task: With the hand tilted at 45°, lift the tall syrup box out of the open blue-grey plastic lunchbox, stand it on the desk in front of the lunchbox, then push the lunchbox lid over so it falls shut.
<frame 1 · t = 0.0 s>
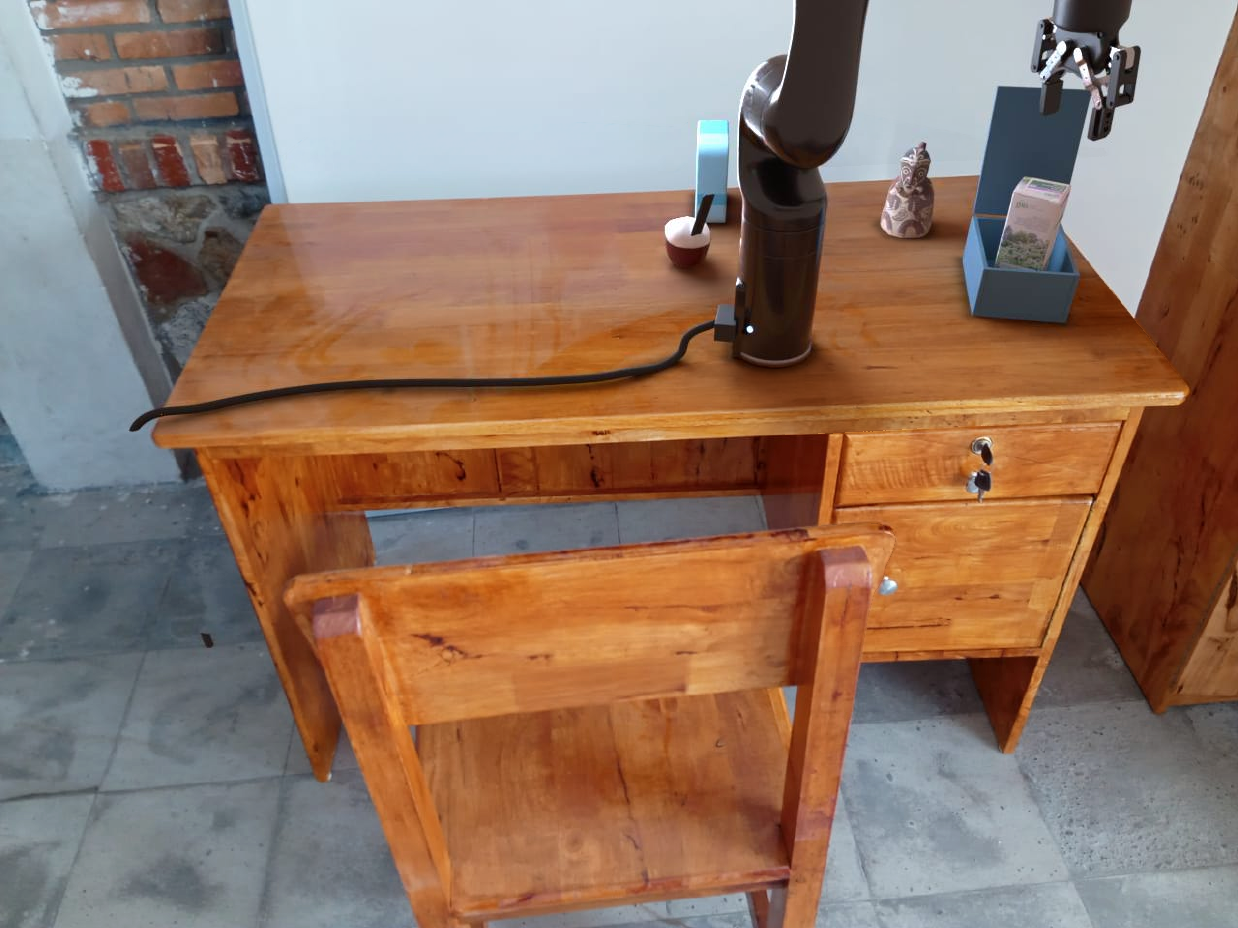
hand: (1072, 126, 110), 22 cm above the table, tool pointing down, fingers open, 8 cm apart
lunchbox lid: (1030, 154, 123), point 15 cm above the table, hinge at 100.0°
figurine: (904, 228, 141), on the table
ice cream cup: (687, 264, 133), on the table
syrup box: (1013, 295, 124), resting on lunchbox
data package: (710, 210, 147), on the table
lunchbox: (1011, 290, 126), on the table
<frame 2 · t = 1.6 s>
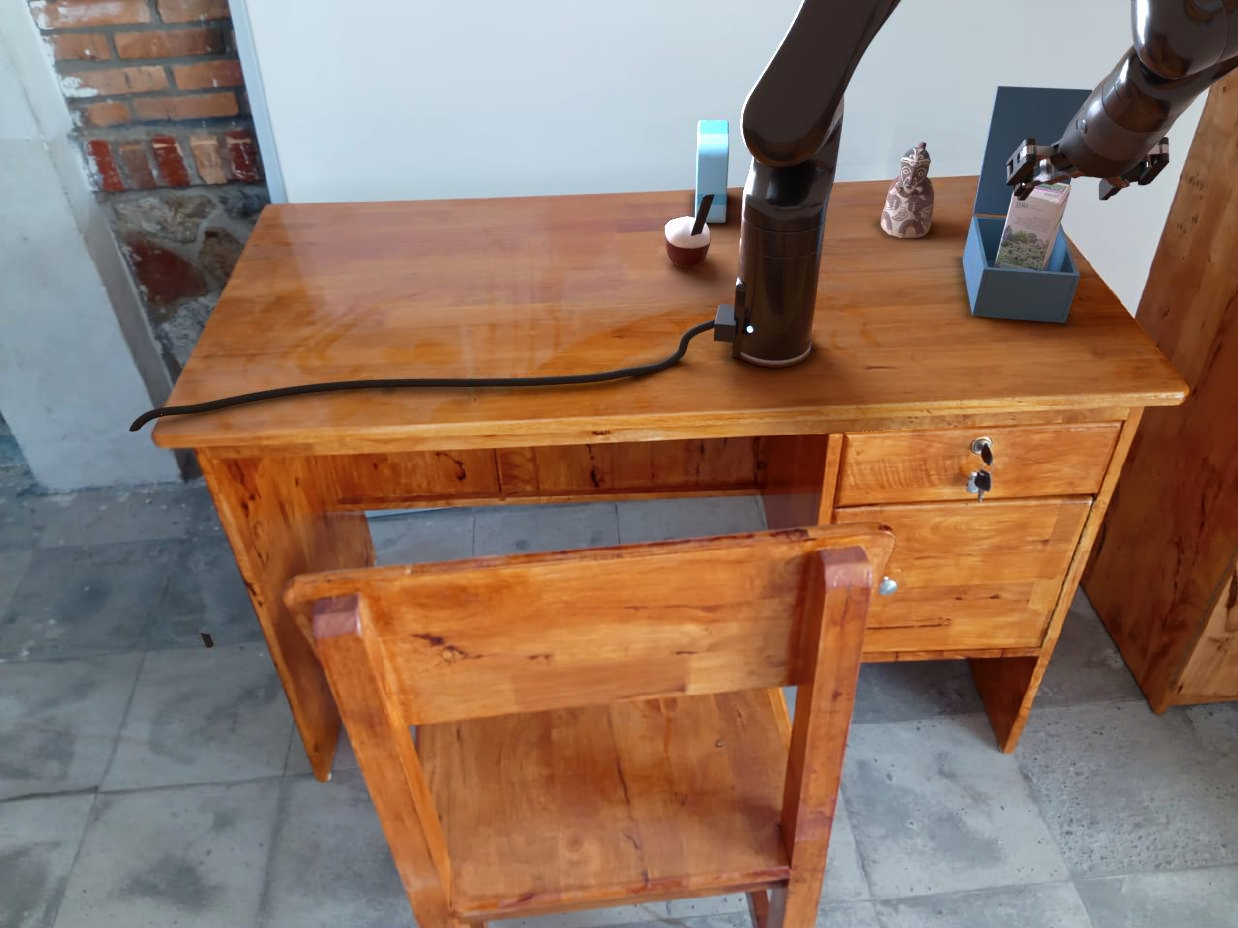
hand: (1060, 192, 104), 19 cm above the table, tool tilted 45°, fingers open, 8 cm apart
nothing on the table moved.
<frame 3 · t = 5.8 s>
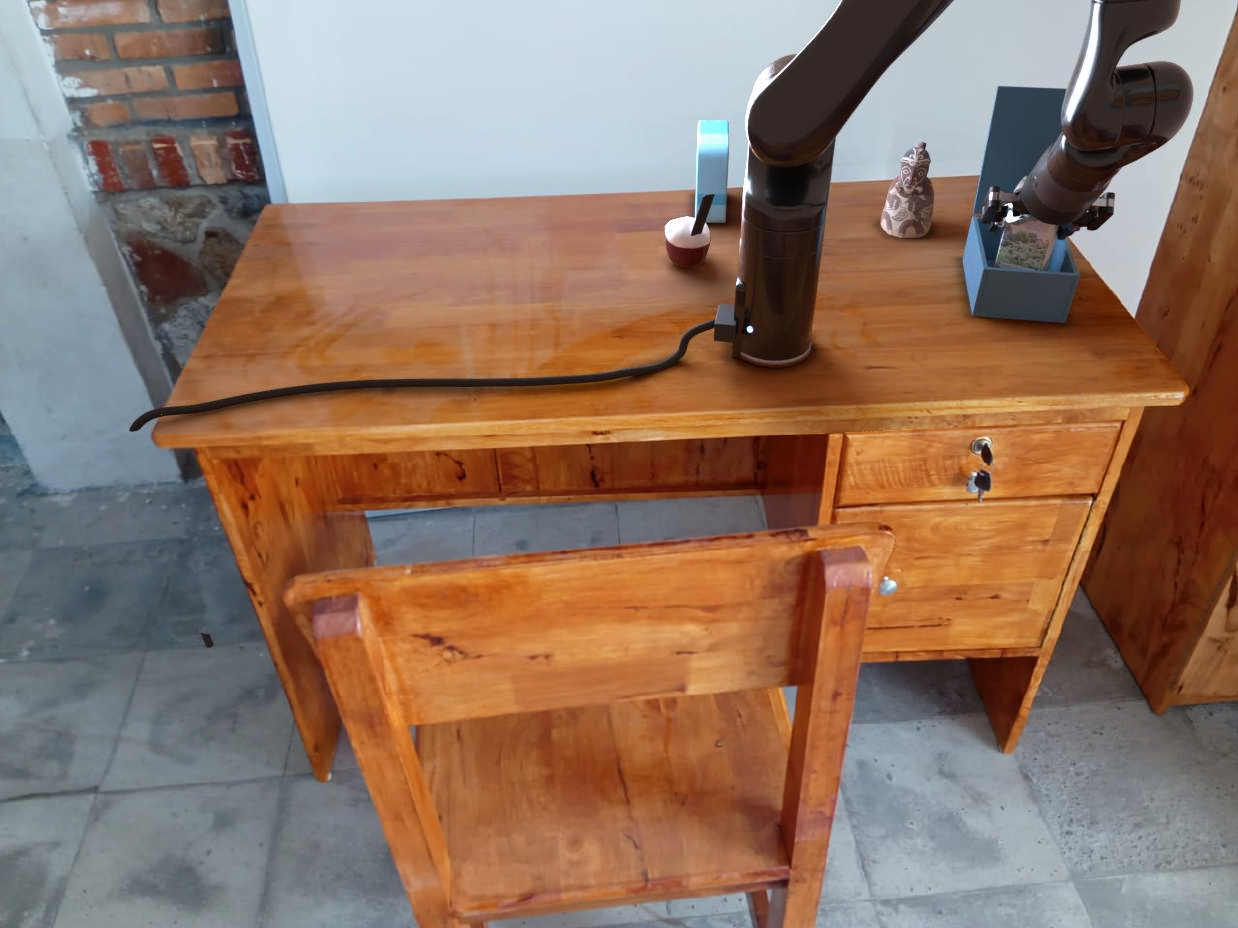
hand: (1028, 230, 120), 9 cm above the table, tool tilted 45°, fingers closed on syrup box, 7 cm apart
syrup box: (1013, 294, 124), resting on lunchbox, touching gripper
everything else where it was.
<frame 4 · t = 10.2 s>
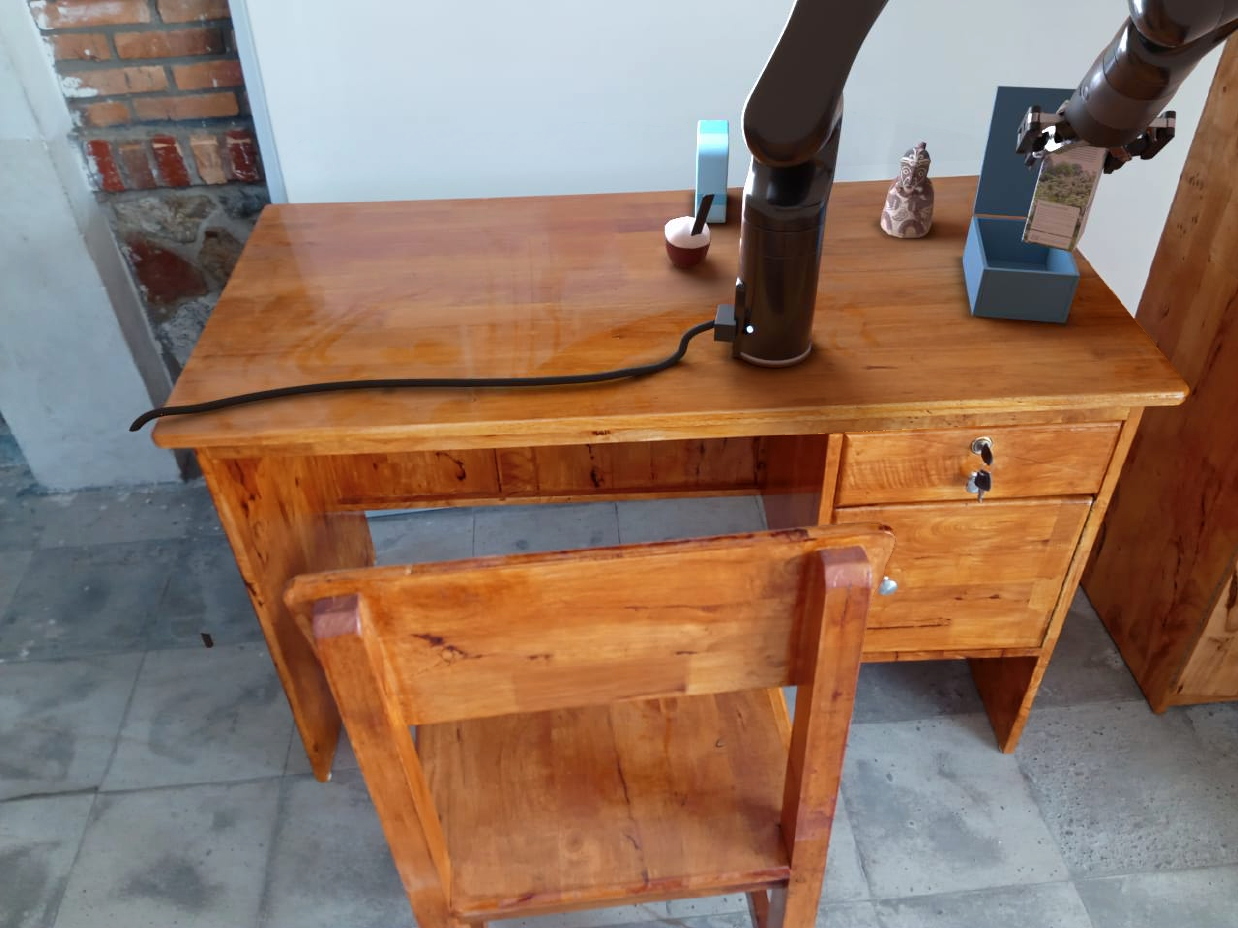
hand: (1069, 164, 104), 21 cm above the table, tool tilted 45°, fingers closed on syrup box, 7 cm apart
syrup box: (1051, 240, 108), point 13 cm above the table, touching gripper
everything else where it was.
when the fingers open (8 cm above the table, at t = 15.0 s): syrup box stays where it is, on the table.
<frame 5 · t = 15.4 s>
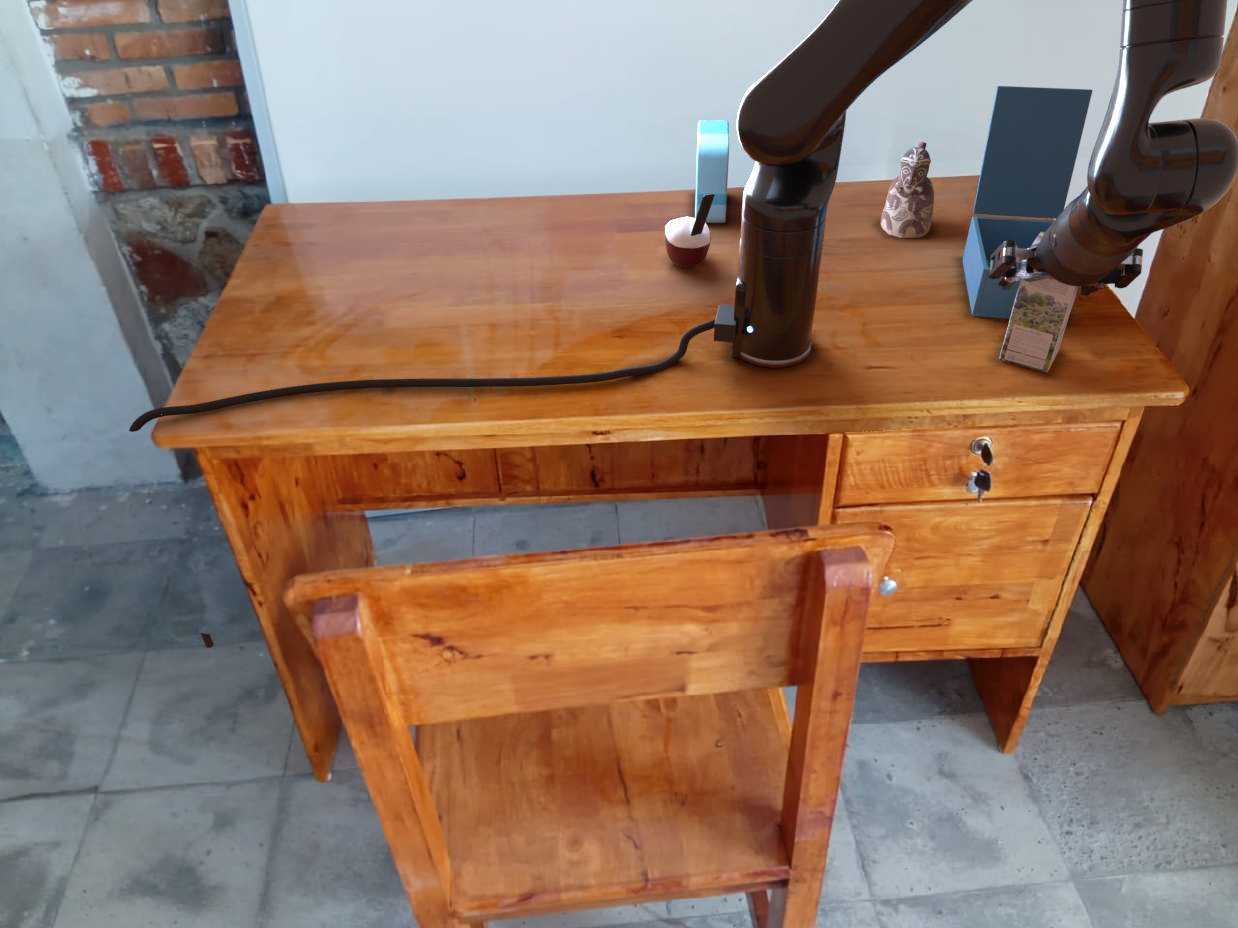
hand: (1044, 284, 109), 9 cm above the table, tool tilted 45°, fingers open, 8 cm apart
syrup box: (1027, 358, 114), on the table
everything else where it was.
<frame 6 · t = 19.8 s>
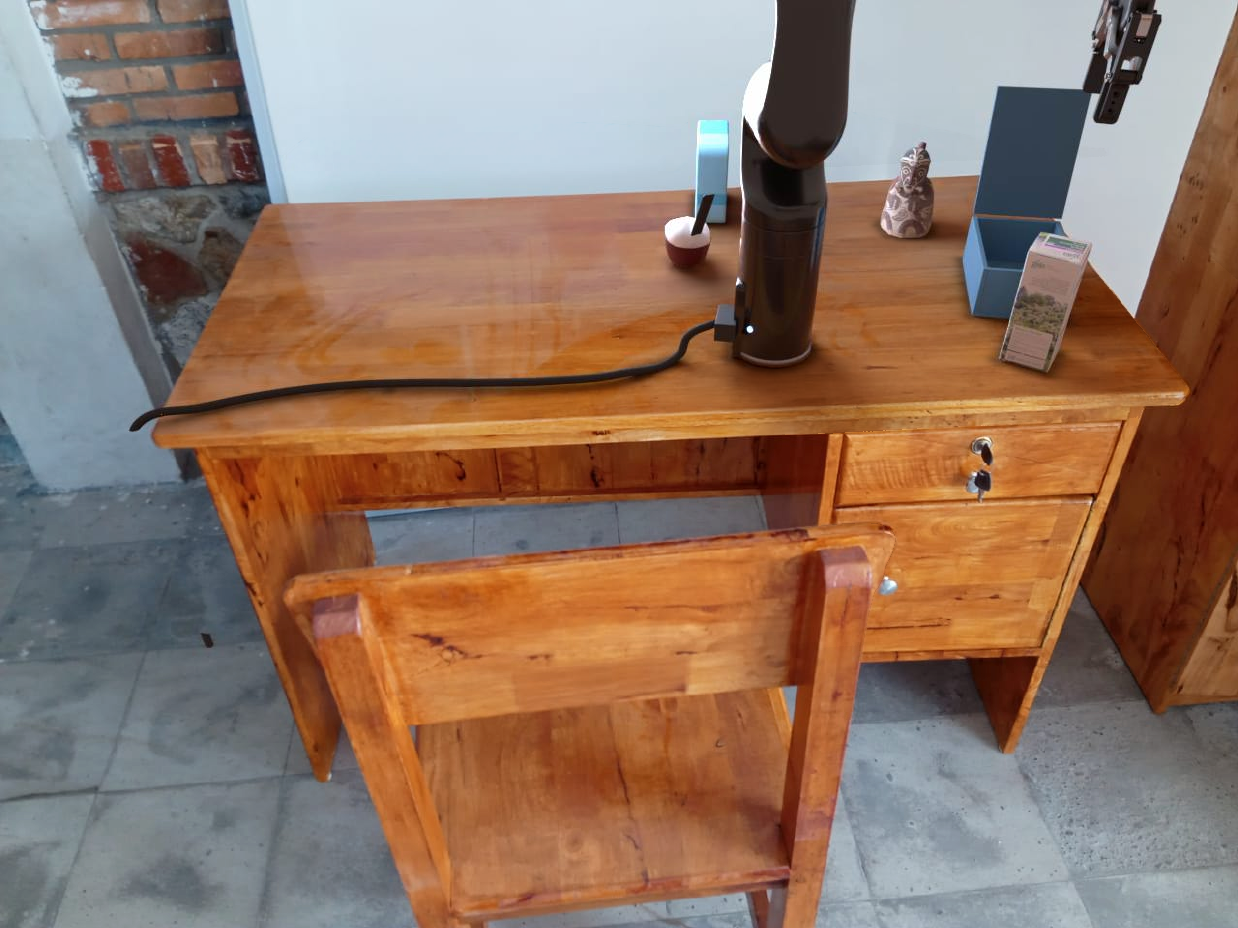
hand: (1097, 107, 95), 29 cm above the table, tool pointing down, fingers open, 8 cm apart
nothing on the table moved.
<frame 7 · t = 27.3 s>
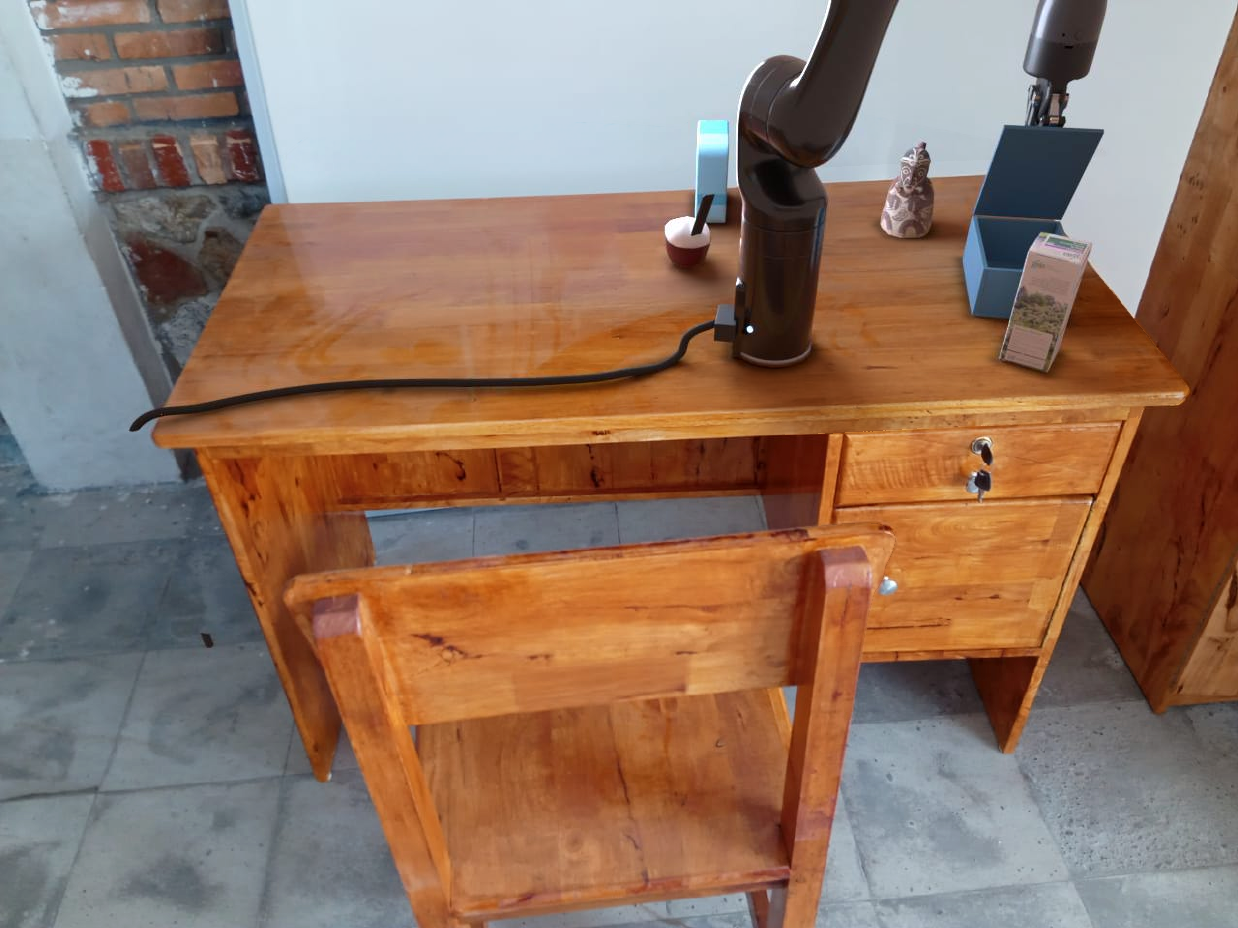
hand: (1028, 174, 123), 13 cm above the table, tool pointing down, fingers closed
lunchbox lid: (1034, 175, 120), point 14 cm above the table, hinge at 63.1°
everything else where it was.
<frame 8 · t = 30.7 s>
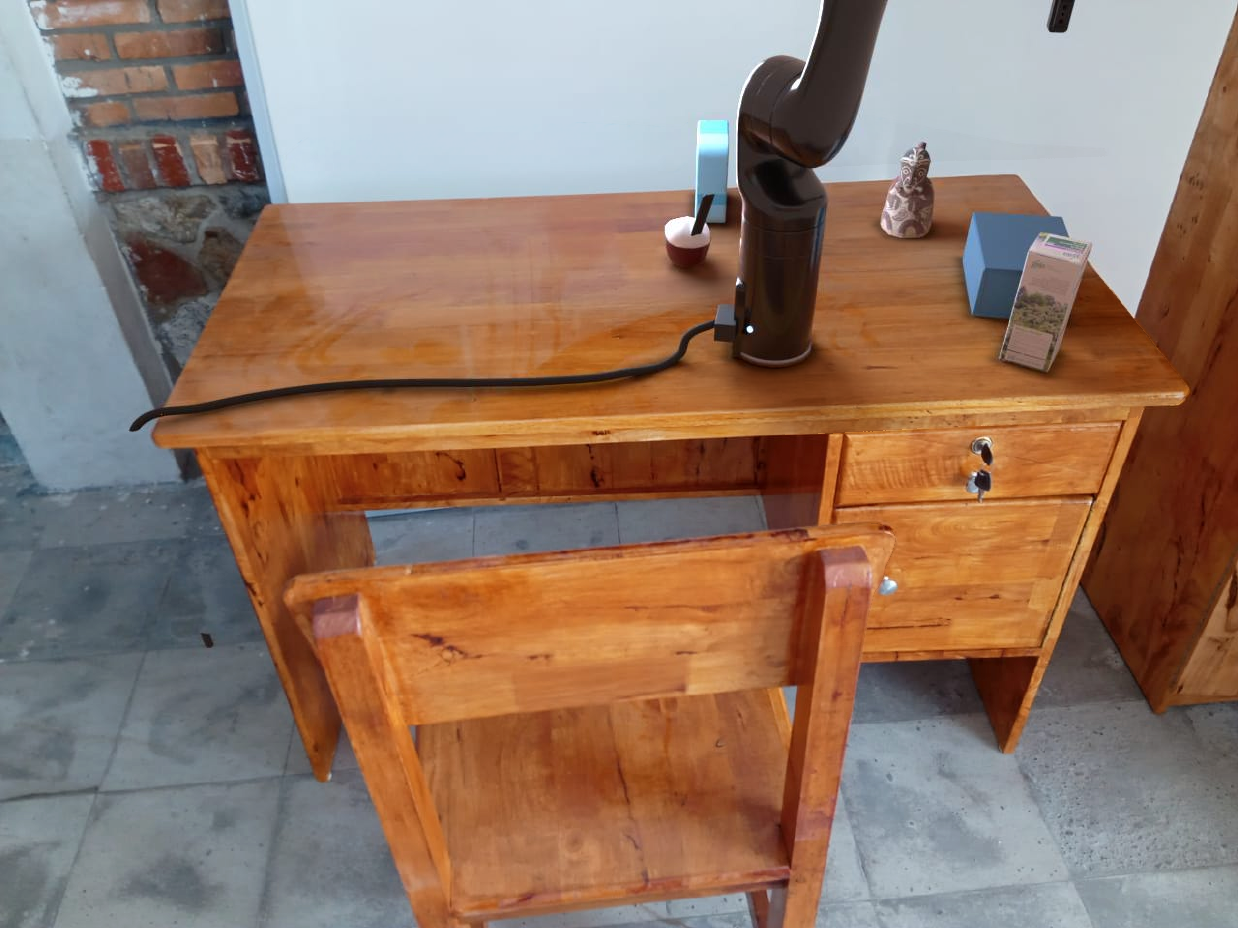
hand: (1056, 31, 116), 29 cm above the table, tool pointing down, fingers closed
lunchbox lid: (1024, 243, 121), point 7 cm above the table, hinge at -0.2°
everything else where it was.
at the end: syrup box inside the target area (0.2 cm from its centre), on the table; syrup box tilted 0°; lunchbox lid at +0° (first picture: +100°) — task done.
